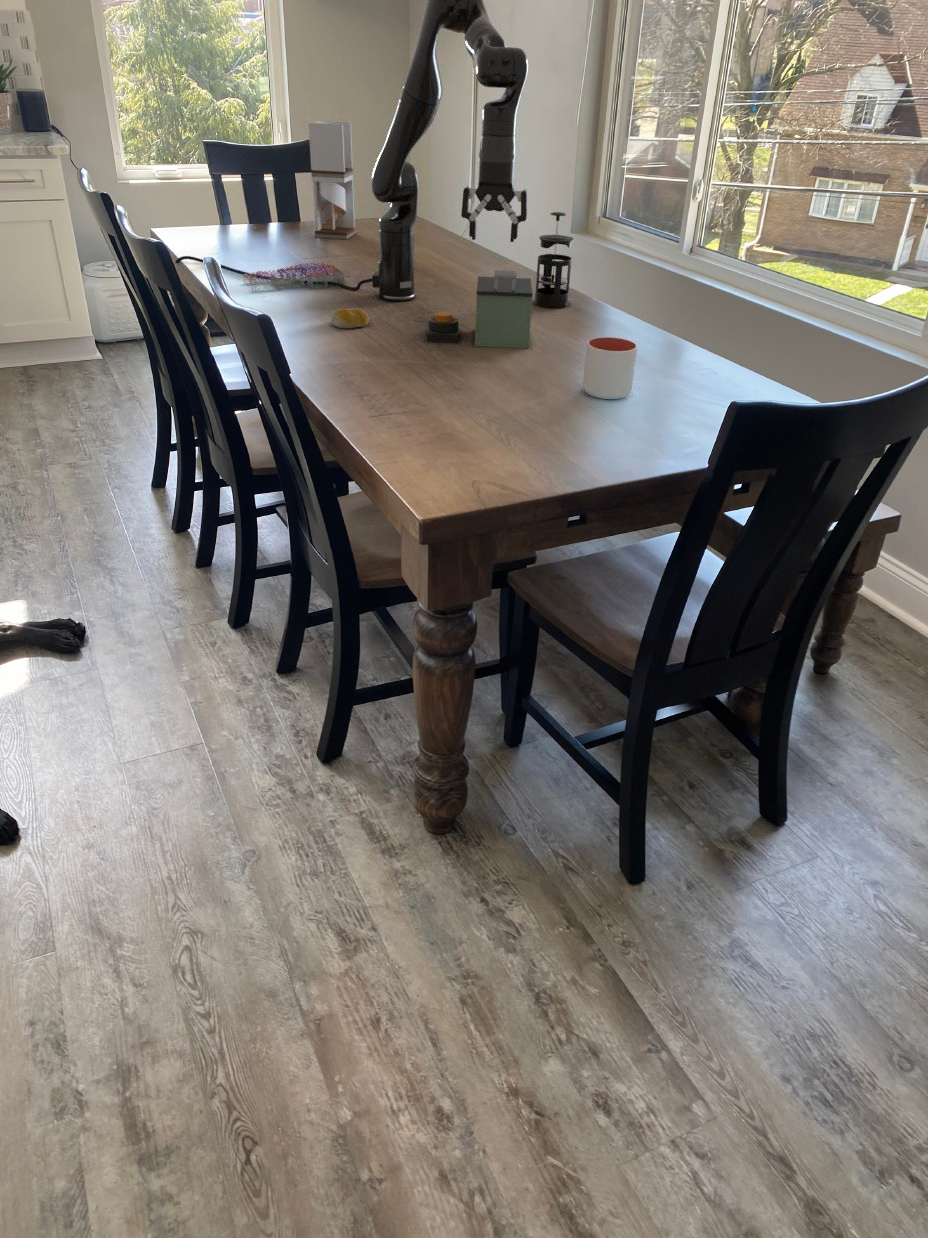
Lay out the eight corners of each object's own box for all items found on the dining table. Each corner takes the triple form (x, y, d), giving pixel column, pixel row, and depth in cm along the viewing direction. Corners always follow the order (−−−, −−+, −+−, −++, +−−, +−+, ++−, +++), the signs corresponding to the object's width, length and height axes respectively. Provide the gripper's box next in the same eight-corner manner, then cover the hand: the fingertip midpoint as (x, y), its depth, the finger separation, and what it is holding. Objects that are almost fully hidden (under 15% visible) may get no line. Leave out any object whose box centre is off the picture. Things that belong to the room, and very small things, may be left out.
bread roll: (374, 326, 219) (374, 309, 217) (341, 330, 215) (340, 313, 213) (358, 318, 225) (358, 301, 223) (326, 322, 221) (325, 305, 218)
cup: (577, 384, 187) (582, 336, 181) (624, 384, 188) (630, 337, 182) (587, 401, 178) (592, 351, 173) (636, 401, 179) (643, 351, 174)
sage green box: (528, 348, 208) (532, 295, 201) (474, 346, 208) (476, 293, 201) (527, 331, 219) (530, 282, 212) (475, 329, 219) (477, 279, 213)
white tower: (315, 237, 311) (308, 122, 291) (324, 231, 319) (318, 120, 300) (346, 239, 309) (342, 124, 290) (354, 233, 318) (351, 121, 299)
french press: (573, 308, 239) (582, 215, 227) (539, 309, 238) (546, 215, 225) (560, 297, 249) (568, 208, 236) (528, 298, 247) (534, 208, 235)
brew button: (451, 323, 210) (451, 316, 209) (434, 322, 210) (434, 315, 209) (452, 319, 213) (452, 311, 212) (435, 318, 213) (435, 310, 212)
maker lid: (532, 296, 200) (534, 273, 198) (476, 294, 201) (477, 271, 198) (530, 281, 212) (532, 259, 210) (477, 279, 213) (478, 257, 210)
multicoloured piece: (248, 294, 241) (247, 274, 238) (236, 281, 253) (234, 262, 250) (354, 286, 252) (353, 267, 249) (337, 275, 264) (337, 256, 261)
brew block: (457, 343, 209) (457, 325, 207) (427, 341, 209) (427, 324, 207) (458, 331, 218) (459, 314, 215) (430, 330, 218) (430, 313, 216)
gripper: (531, 158, 191) (525, 238, 200) (465, 154, 192) (463, 235, 201) (529, 162, 185) (523, 245, 194) (461, 158, 186) (459, 241, 195)
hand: (492, 240), depth 197 cm, fingers open, 8 cm apart
